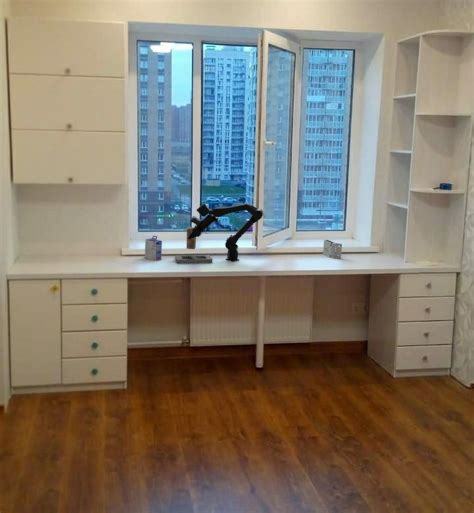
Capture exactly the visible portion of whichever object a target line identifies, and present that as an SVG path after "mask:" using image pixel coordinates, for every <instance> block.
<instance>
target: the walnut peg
mask: <svg viewBox="0 0 474 513" xmlns="http://www.w3.org/2000/svg"><path fill="white" fill-rule="evenodd" d="M194 227H195V226H194ZM194 227H193V226H188V227H187V228H186V249H187V250H195V249H196V247H197V237H195V238H192V239H188V237H189V236H190V235H191V233H192V229H193V228H194Z"/></svg>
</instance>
